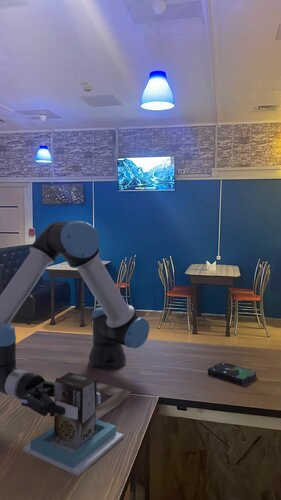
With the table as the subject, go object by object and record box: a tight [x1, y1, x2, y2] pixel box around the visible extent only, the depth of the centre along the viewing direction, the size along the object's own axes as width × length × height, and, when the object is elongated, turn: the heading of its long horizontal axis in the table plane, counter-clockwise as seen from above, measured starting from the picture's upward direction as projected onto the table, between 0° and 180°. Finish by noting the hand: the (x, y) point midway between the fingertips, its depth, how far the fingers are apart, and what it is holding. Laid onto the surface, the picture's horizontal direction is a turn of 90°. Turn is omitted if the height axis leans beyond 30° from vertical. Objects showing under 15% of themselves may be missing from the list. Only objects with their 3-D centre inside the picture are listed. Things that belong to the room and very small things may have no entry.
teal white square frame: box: [22, 419, 124, 477], centre depth 96 cm, size 18×18×3 cm
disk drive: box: [207, 361, 257, 387], centre depth 139 cm, size 10×3×15 cm
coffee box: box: [53, 372, 98, 449], centre depth 95 cm, size 9×6×16 cm
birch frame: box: [96, 382, 132, 420], centre depth 119 cm, size 17×20×2 cm
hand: (88, 406), depth 93 cm, fingers open, 8 cm apart
